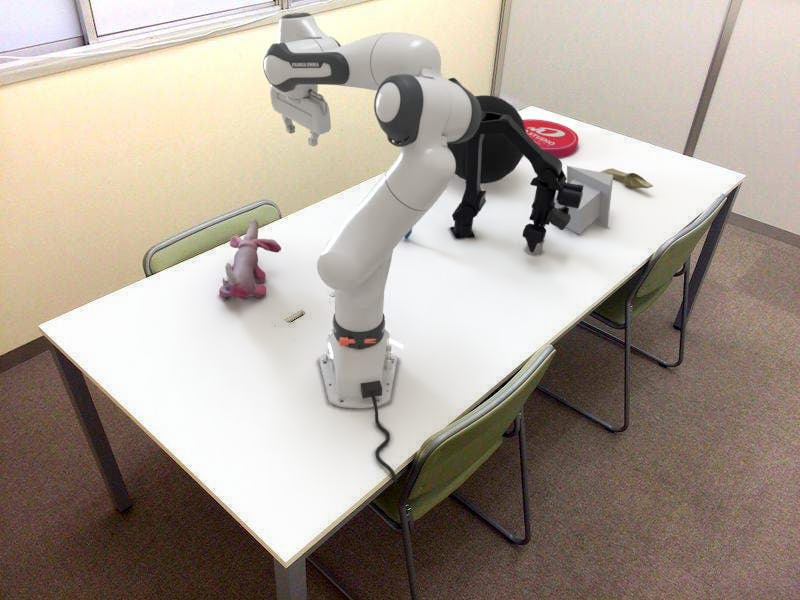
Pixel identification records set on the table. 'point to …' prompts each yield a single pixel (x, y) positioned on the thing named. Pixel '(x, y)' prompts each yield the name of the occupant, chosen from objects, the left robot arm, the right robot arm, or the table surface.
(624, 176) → the tool
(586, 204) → the grey flanged block
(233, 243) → the toy
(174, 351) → the table surface
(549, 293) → the table surface
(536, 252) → the tin
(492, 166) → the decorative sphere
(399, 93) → the left robot arm
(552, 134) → the sign
